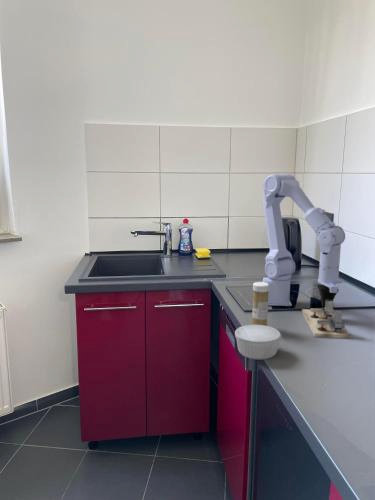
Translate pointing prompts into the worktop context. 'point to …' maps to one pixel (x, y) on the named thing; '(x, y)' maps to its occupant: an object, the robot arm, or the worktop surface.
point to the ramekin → (257, 341)
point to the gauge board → (326, 330)
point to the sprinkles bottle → (260, 303)
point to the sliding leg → (325, 309)
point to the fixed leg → (334, 321)
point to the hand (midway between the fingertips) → (326, 308)
